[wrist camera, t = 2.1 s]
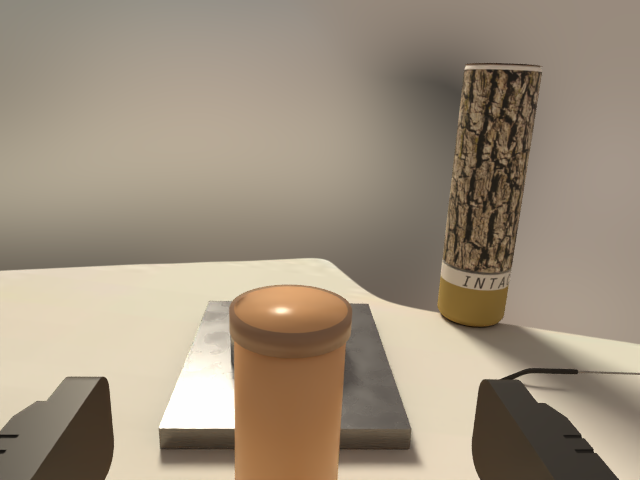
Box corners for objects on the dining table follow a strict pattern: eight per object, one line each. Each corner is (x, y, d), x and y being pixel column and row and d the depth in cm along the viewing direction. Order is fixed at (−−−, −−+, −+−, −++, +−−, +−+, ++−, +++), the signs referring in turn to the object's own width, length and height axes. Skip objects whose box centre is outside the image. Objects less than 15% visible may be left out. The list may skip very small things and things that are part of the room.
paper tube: (423, 307, 56) (449, 64, 49) (471, 298, 59) (503, 68, 52) (466, 334, 50) (502, 62, 43) (517, 323, 53) (559, 67, 46)
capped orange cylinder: (224, 590, 24) (221, 334, 20) (237, 500, 29) (236, 283, 25) (341, 589, 24) (359, 336, 20) (333, 500, 29) (346, 285, 26)
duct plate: (160, 448, 33) (156, 386, 31) (209, 314, 52) (208, 272, 51) (409, 448, 34) (415, 388, 32) (367, 317, 53) (370, 276, 51)
